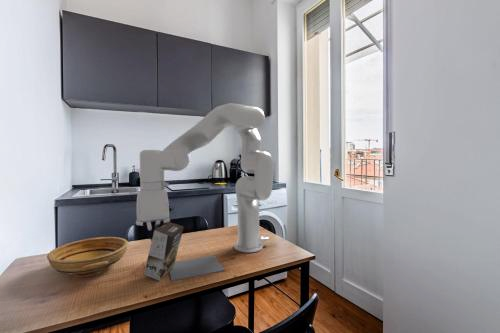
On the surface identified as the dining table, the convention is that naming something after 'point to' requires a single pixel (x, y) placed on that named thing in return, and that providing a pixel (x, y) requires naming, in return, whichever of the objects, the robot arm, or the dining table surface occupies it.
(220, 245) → the dining table surface
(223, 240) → the dining table surface
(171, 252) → the coffee box
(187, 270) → the grey mat
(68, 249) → the brown oval basket
